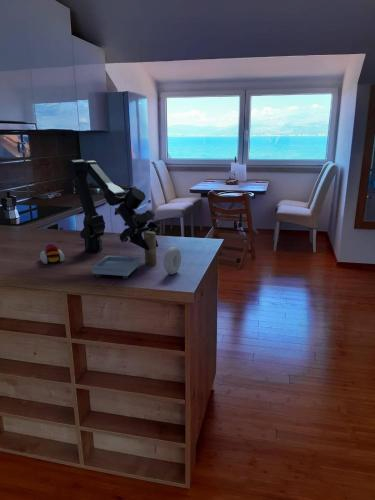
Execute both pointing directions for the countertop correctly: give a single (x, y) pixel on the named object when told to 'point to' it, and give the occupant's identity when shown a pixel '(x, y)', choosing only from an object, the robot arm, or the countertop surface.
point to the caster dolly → (116, 266)
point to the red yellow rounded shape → (51, 254)
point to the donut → (172, 260)
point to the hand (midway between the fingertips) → (153, 248)
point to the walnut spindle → (150, 248)
